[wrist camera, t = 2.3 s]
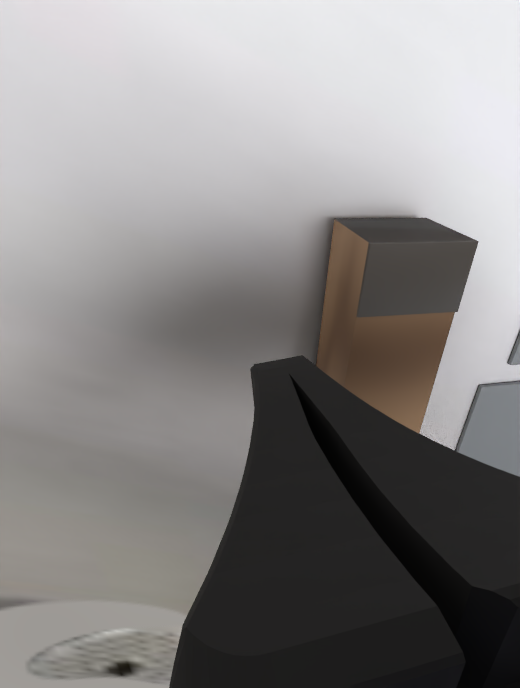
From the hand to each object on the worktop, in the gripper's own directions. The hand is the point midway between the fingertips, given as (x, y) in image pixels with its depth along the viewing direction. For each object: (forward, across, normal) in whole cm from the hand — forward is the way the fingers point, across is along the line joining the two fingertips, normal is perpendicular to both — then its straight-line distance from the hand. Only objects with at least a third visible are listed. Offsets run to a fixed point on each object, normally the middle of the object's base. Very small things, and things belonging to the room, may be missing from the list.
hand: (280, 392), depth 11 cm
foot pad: (+4, -12, +8) cm, 15 cm away
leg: (+4, -3, +3) cm, 6 cm away
